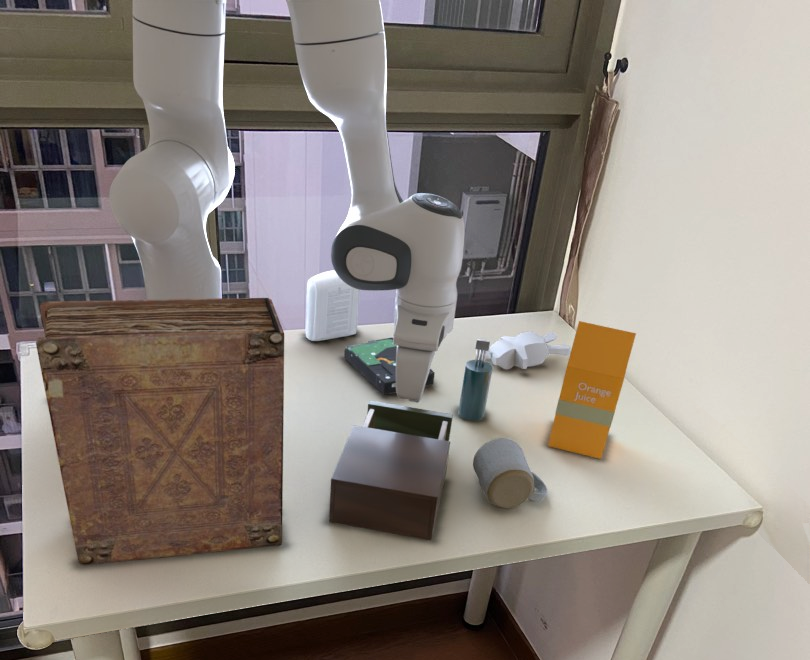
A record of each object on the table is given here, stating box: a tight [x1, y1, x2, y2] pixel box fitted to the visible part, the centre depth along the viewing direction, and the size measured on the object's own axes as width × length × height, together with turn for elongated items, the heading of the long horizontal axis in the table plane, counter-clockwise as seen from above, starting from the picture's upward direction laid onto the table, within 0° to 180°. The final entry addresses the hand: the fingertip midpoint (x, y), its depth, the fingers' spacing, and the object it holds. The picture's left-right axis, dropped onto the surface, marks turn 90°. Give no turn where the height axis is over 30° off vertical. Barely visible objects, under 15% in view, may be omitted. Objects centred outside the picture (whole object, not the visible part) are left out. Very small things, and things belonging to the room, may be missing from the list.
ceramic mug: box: [472, 437, 548, 509], centre depth 121 cm, size 11×8×8 cm
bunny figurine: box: [486, 330, 572, 370], centre depth 157 cm, size 10×5×15 cm
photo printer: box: [304, 269, 361, 342], centre depth 156 cm, size 10×4×12 cm, turn 124°
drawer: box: [362, 400, 454, 441], centre depth 127 cm, size 18×13×6 cm
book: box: [35, 297, 285, 566], centre depth 100 cm, size 25×9×30 cm, turn 106°
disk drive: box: [344, 336, 436, 395], centre depth 149 cm, size 10×3×15 cm
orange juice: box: [547, 320, 637, 460], centre depth 132 cm, size 8×9×20 cm
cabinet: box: [328, 424, 451, 541], centre depth 117 cm, size 14×14×7 cm
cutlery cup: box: [457, 338, 494, 422], centre depth 137 cm, size 4×4×13 cm
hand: (414, 397), depth 131 cm, fingers closed
